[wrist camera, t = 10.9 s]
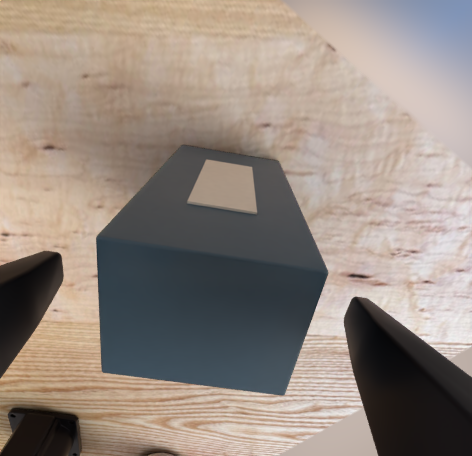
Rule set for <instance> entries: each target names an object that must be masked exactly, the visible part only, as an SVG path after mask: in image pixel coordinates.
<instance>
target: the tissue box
mask: <svg viewBox="0 0 472 456" xmlns="http://www.w3.org/2000/svg"><path fill="white" fill-rule="evenodd" d="M96 244H97V268H98V292H99V317H100V341H101V365H102V372H104V373H111V374H118V375H126V376H134V377H142V378H150V379H157V380H165V381H173V382H181V383H189V384H196V385H204V386H212V387H220V388H228V389H235V390H243V391H251V392H259V393H267V394H274V395H285V392H286V389H287V386H288V384H289V381H290V378H291V375H292V373H293V370H294V367H295V364H296V361H297V359H298V356H299V353H300V350H301V348H302V345H303V342H304V339H305V336H306V334H307V331H308V328H309V325H310V323H311V320H312V317H313V314H314V312H315V309H316V306H317V303H318V300H319V298H320V295H321V292H322V289H323V287H324V284H325V281H326V278H327V275H328V270H327V268H326V265H325V263H324V261H323V259H322V256H321V254H320V252H319V250H318V248H317V245H316V243H315V241H314V239H313V236H312V234H311V232H310V230H309V227H308V225H307V223H306V221H305V219H304V216H303V214H302V212H301V210H300V207H299V205H298V203H297V201H296V198H295V196H294V194H293V192H292V190H291V187H290V185H289V183H288V181H287V178H286V176H285V174H284V172H283V170H282V167H281V165H280V163H279V161H275V160H269V159H263V158H257V157H252V156H246V155H240V154H234V153H228V152H222V151H217V150H211V149H205V148H199V147H193V146H187V145H181V147H180V148H179V149H178V150H177V151H176V152H175V153H174V154H173V155H172V156H171V157H170V158H169V159H168V161H167V162H166V163H165V164H164V165H163V166H162V167H161V168H160V169H159V170H158V171H157V172H156V173H155V174H154V176H153V177H152V178H151V179H150V180H149V181H148V182H147V183H146V184H145V185H144V186H143V187H142V188H141V189H140V191H139V192H138V193H137V194H136V195H135V196H134V197H133V198H132V199H131V200H130V201H129V202H128V203H127V204H126V206H125V207H124V208H123V209H122V210H121V211H120V212H119V213H118V214H117V215H116V216H115V217H114V218H113V219H112V221H111V222H110V223H109V224H108V225H107V226H106V227H105V228H104V229H103V230H102V231H101V232H100V233H99V234H98V236H97V237H96Z"/></svg>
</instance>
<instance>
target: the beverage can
mask: <svg viewBox="0 0 472 456" xmlns="http://www.w3.org/2000/svg"><path fill="white" fill-rule="evenodd" d="M147 456H174V455H171V454H168V453H153V454H150V455H147Z"/></svg>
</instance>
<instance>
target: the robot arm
mask: <svg viewBox="0 0 472 456" xmlns="http://www.w3.org/2000/svg"><path fill="white" fill-rule="evenodd" d="M63 277H64V274H63V265H62V257H61V254H60V253H58V252H51V251H43V252H40V253H37V254H34V255H31V256H28V257H25V258H22V259H19V260H16V261H13V262H10V263H7V264H4V265H1V266H0V378H1V377H2V376H3V374H4V373H5V371H6V370H7V369H8V367H9V366H10V364H11V363H12V362H13V360H14V359H15V357H16V356H17V355H18V353H19V352H20V350H21V349H22V348H23V346H24V345H25V343H26V342H27V341H28V339H29V338H30V336H31V335H32V334H33V332H34V331H35V329H36V328H37V326H38V325H39V323H40V321H41V320H42V318H43V316H44V314H45V312H46V311H47V309H48V307H49V305H50V304H51V302H52V300H53V298H54V296H55V295H56V293H57V291H58V289H59V288H60V286H61V284H62V282H63ZM344 327H345V332H346V338H347V343H348V349H349V354H350V359H351V364H352V369H353V373H354V376H355V380H356V383H357V386H358V390H359V393H360V396H361V400H362V403H363V406H364V410H365V413H366V416H367V420H368V423H369V426H370V429H371V433H372V436H373V440H374V442H375V446H376V449H377V453H378V456H472V377H471V376H469V375H468V374H467V373H465V372H464V371H463V370H461V369H460V368H459V367H457V366H456V365H455V364H453V363H452V362H451V361H449V360H448V359H447V358H445V357H444V356H443V355H441V354H440V353H439V352H438V351H436V350H435V349H434V348H432V347H431V346H430V345H428V344H427V343H426V342H424V341H423V340H422V339H420V338H419V337H418V336H416V335H415V334H414V333H412V332H411V331H410V330H408V329H407V328H406V327H404V326H403V325H402V324H401V323H399V322H398V321H397V320H395V319H394V318H393V317H391V316H390V315H389V314H387V313H386V312H385V311H383V310H382V309H381V308H379V307H378V306H377V305H375V304H374V303H373V302H371V301H370V300H369V299H367V298H362V297H354V298H353V299H352V300H351V302H350V304H349V307H348V309H347V312H346V314H345V317H344ZM8 418H9V421H10V425H11V429H12V435H11V436H10V438H9V439H8V441H7V443H6V444H5V446H4V447H3V449H2V450H1V452H0V456H80V454H81V451H82V450H81V440H80V430H79V420H78V418H77V417H76V416H73V415H65V414H56V413H48V412H40V411H31V410H23V409H11V410H10V412H9V413H8Z"/></svg>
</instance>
